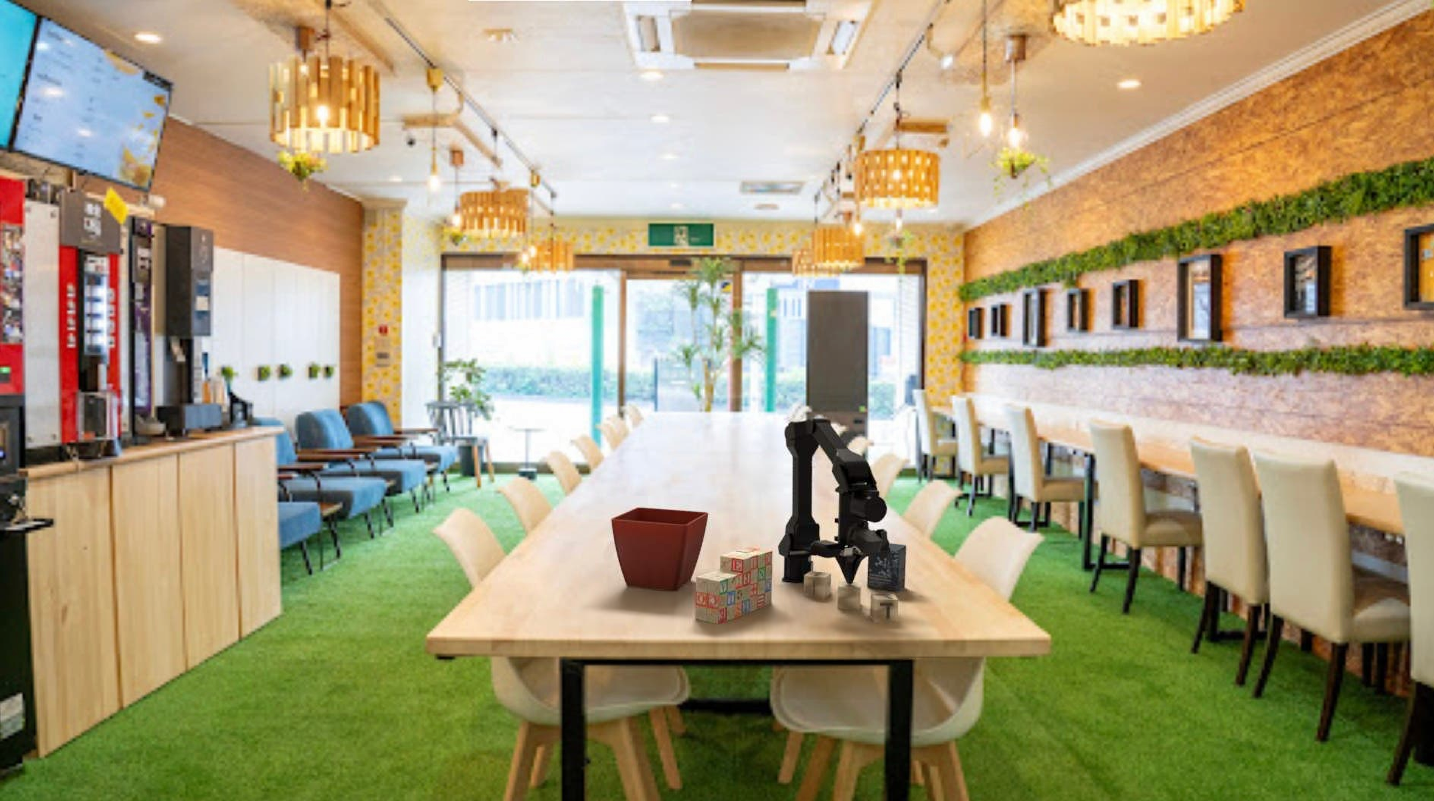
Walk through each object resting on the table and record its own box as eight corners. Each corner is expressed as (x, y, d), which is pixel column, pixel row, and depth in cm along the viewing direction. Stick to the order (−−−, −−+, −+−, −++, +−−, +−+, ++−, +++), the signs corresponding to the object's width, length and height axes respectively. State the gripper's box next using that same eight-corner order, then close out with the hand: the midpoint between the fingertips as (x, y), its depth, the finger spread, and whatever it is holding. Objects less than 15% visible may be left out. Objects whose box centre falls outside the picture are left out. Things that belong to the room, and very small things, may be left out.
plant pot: (708, 577, 239) (709, 511, 238) (685, 596, 220) (686, 524, 219) (636, 571, 244) (637, 506, 243) (608, 589, 226) (609, 519, 225)
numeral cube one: (803, 596, 223) (803, 575, 222) (810, 591, 228) (811, 570, 227) (823, 598, 221) (824, 577, 220) (830, 593, 226) (831, 572, 225)
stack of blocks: (718, 625, 199) (719, 566, 198) (694, 619, 202) (695, 562, 202) (772, 603, 216) (773, 549, 216) (748, 598, 220) (749, 546, 219)
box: (866, 587, 231) (867, 544, 231) (874, 582, 236) (875, 540, 236) (897, 592, 227) (899, 548, 227) (905, 587, 232) (906, 544, 232)
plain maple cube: (837, 608, 213) (837, 586, 212) (838, 602, 218) (838, 581, 217) (860, 609, 212) (860, 587, 212) (860, 604, 217) (861, 582, 216)
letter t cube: (874, 622, 202) (874, 598, 202) (870, 615, 208) (870, 592, 207) (897, 622, 203) (898, 599, 202) (893, 615, 208) (893, 593, 207)
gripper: (842, 524, 202) (840, 597, 203) (907, 517, 212) (905, 586, 213) (809, 516, 211) (808, 585, 212) (873, 509, 221) (871, 575, 222)
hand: (849, 583), depth 214 cm, fingers closed
